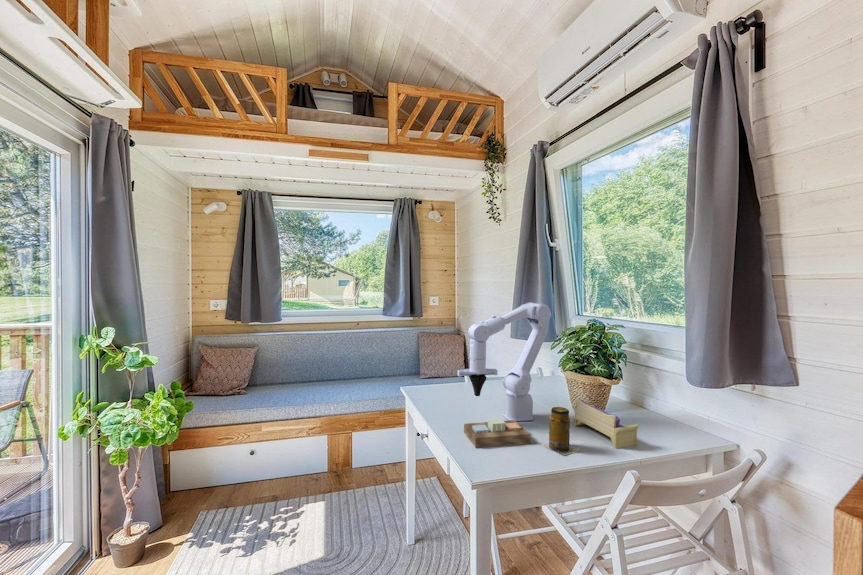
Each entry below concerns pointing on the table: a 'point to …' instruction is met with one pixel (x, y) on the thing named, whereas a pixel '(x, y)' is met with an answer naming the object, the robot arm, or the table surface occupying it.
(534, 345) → the robot arm
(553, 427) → the condiment
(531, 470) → the table surface
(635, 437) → the toy sofa
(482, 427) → the slate key
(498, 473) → the table surface
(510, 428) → the terracotta key
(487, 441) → the brown wooden tray
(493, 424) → the sage key
